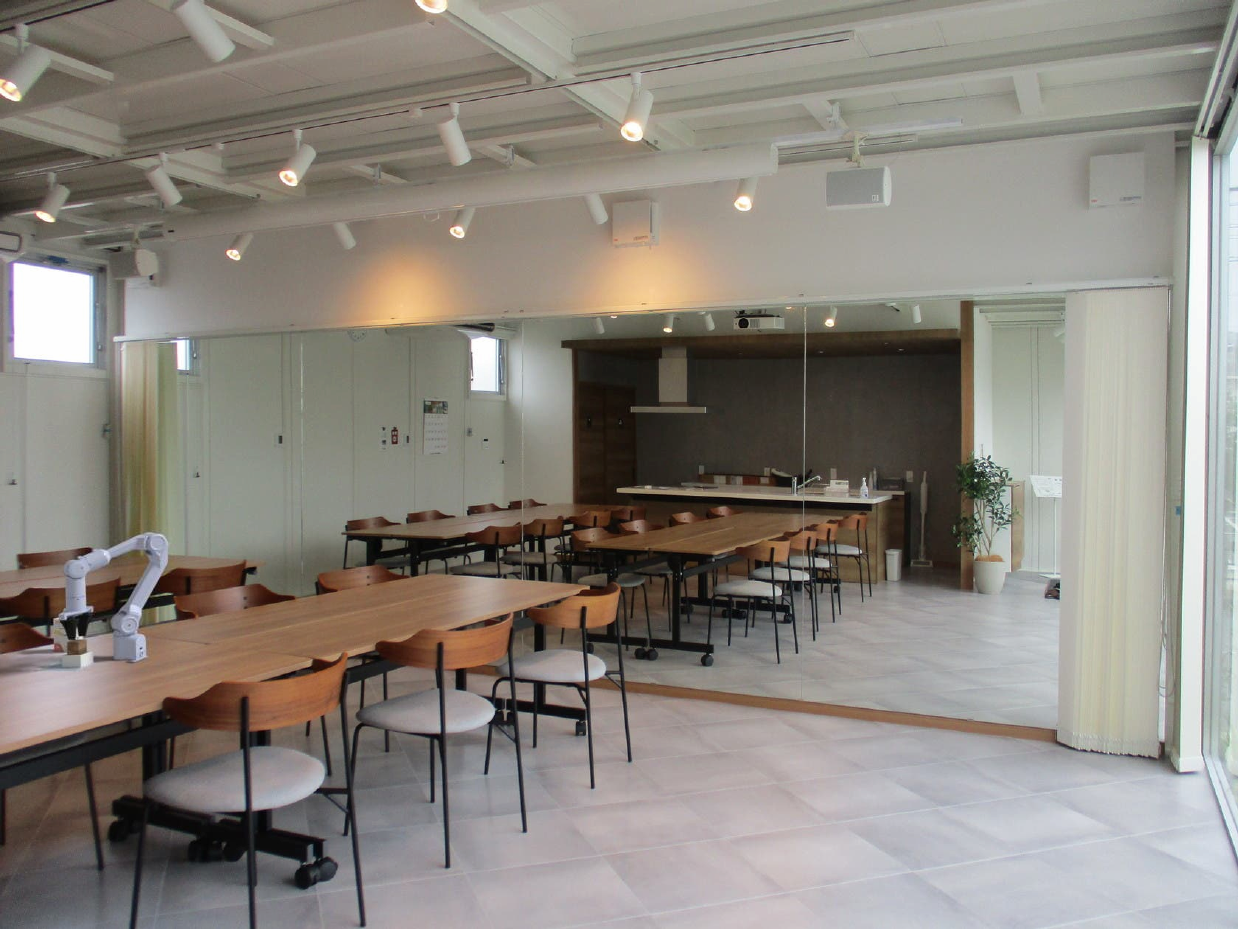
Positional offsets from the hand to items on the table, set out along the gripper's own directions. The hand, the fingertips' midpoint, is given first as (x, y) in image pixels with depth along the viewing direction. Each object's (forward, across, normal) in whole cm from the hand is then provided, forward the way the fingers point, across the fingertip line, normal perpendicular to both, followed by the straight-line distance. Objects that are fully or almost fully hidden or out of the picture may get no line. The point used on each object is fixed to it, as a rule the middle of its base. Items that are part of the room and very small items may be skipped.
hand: (77, 638), depth 306 cm
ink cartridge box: (+10, -25, -20) cm, 34 cm away
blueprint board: (+10, +2, -2) cm, 10 cm away
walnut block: (+6, 0, 0) cm, 6 cm away
